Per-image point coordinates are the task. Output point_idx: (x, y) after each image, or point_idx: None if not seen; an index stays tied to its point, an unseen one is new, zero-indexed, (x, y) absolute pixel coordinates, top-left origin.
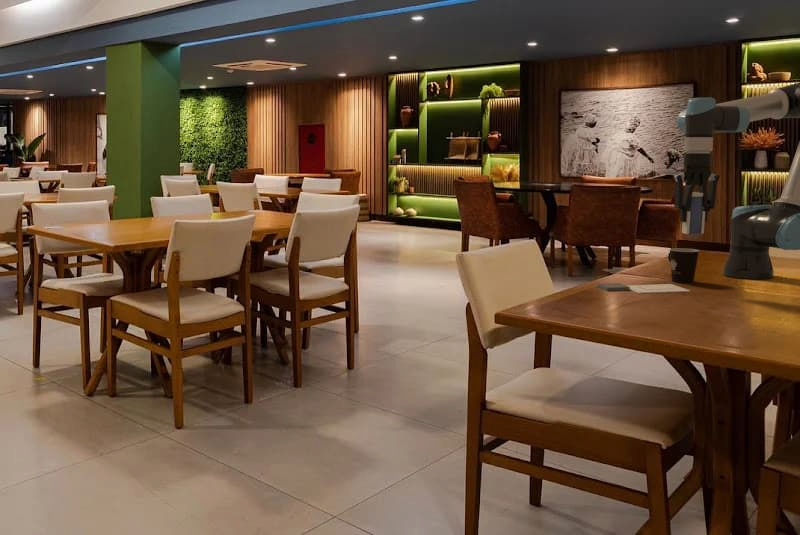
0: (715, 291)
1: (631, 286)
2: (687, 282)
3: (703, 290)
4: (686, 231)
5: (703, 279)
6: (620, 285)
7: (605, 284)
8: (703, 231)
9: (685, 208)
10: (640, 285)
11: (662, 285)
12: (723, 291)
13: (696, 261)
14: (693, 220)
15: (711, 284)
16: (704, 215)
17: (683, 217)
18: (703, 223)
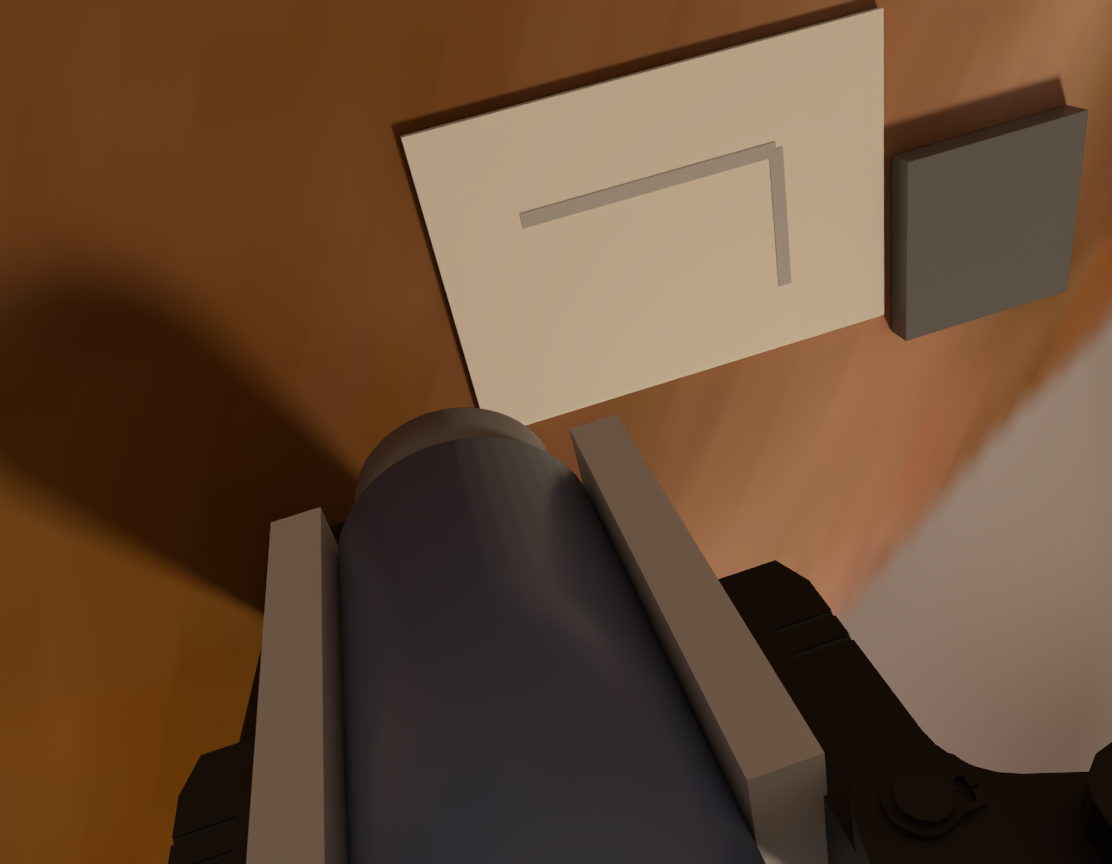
0: (143, 175)
1: (832, 287)
2: (336, 529)
3: (257, 217)
4: (632, 447)
5: (170, 699)
6: (946, 227)
7: (1032, 258)
8: (277, 548)
9: (967, 817)
10: (749, 340)
11: (579, 364)
12: (56, 182)
13: (258, 685)
14: (574, 596)
15: (133, 513)
16: (264, 832)
17: (832, 631)
18: (284, 661)
